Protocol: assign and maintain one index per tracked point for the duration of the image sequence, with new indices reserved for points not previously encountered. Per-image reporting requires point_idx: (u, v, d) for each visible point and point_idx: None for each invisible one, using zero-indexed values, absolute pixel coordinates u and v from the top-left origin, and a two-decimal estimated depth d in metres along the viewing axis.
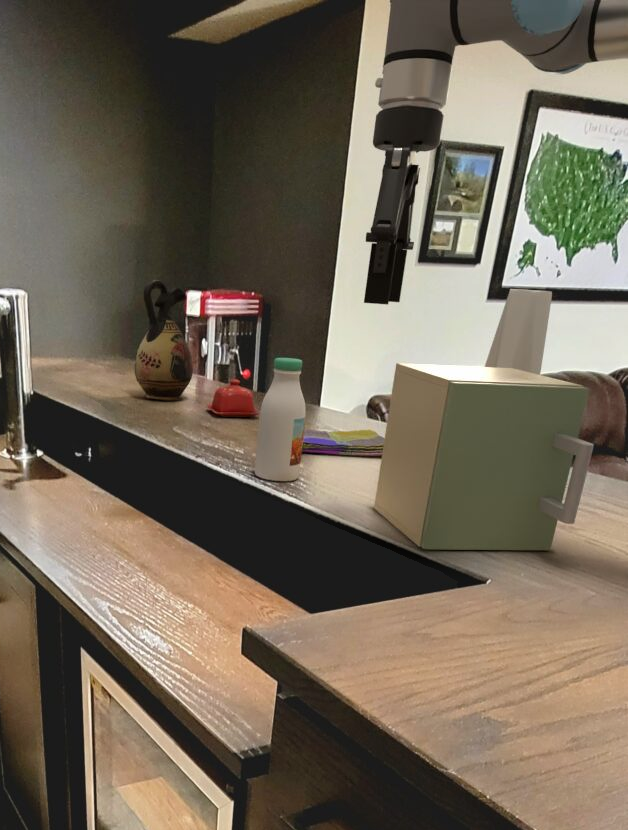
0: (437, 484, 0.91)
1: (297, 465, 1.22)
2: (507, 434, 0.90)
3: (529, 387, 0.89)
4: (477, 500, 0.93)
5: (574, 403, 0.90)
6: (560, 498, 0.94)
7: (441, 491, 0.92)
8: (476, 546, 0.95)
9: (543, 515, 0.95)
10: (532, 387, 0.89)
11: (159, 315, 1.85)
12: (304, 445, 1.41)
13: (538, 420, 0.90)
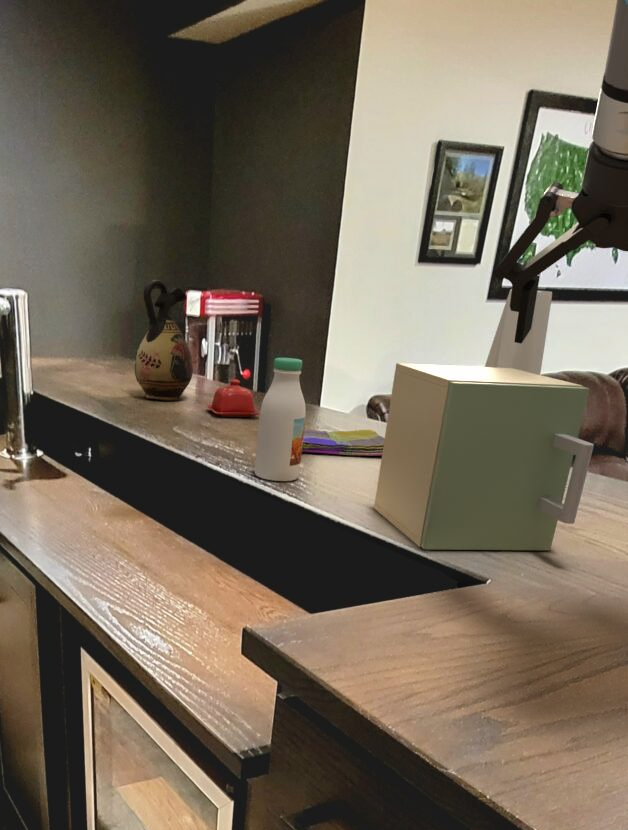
0: (437, 484, 0.91)
1: (297, 465, 1.22)
2: (507, 434, 0.90)
3: (529, 387, 0.89)
4: (477, 500, 0.93)
5: (574, 403, 0.90)
6: (560, 498, 0.94)
7: (441, 491, 0.92)
8: (476, 546, 0.95)
9: (543, 515, 0.95)
10: (532, 387, 0.89)
11: (159, 315, 1.85)
12: (304, 445, 1.41)
13: (538, 420, 0.90)
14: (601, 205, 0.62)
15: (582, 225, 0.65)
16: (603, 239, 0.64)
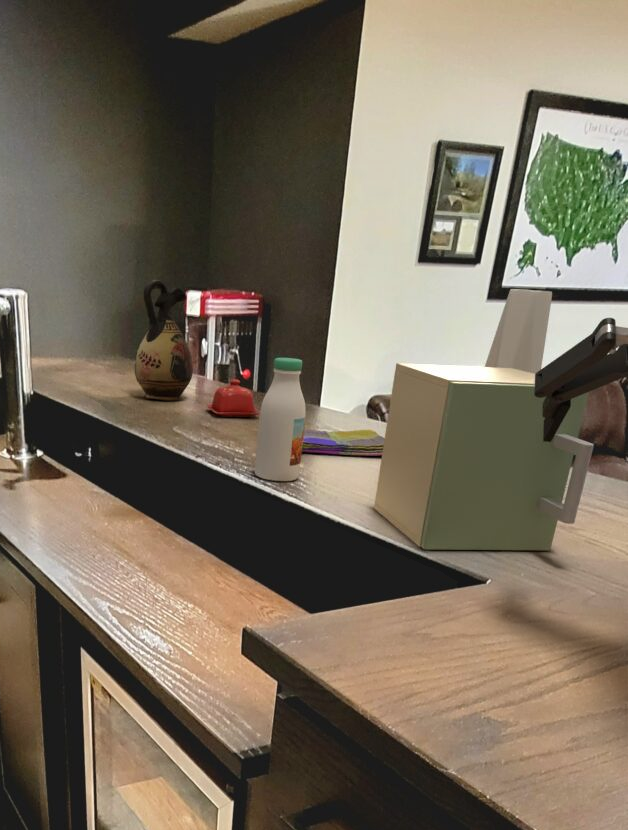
0: (437, 484, 0.91)
1: (297, 465, 1.22)
2: (507, 434, 0.90)
3: (529, 387, 0.89)
4: (477, 500, 0.93)
5: (574, 403, 0.90)
6: (560, 498, 0.94)
7: (441, 491, 0.92)
8: (476, 546, 0.95)
9: (543, 515, 0.95)
10: (532, 387, 0.89)
11: (159, 315, 1.85)
12: (304, 445, 1.41)
13: (538, 420, 0.90)
14: None
15: None
16: None
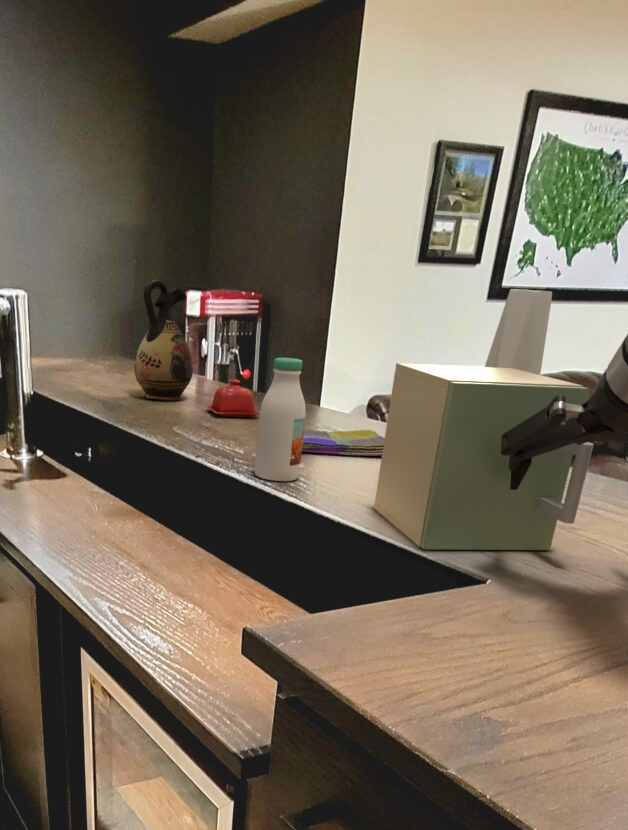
0: (437, 484, 0.91)
1: (297, 465, 1.22)
2: None
3: (529, 387, 0.89)
4: (477, 500, 0.93)
5: (574, 403, 0.90)
6: (560, 498, 0.94)
7: (441, 491, 0.92)
8: (476, 546, 0.95)
9: (543, 515, 0.95)
10: (532, 387, 0.89)
11: (159, 315, 1.85)
12: (304, 445, 1.41)
13: None
14: None
15: (586, 429, 0.78)
16: None
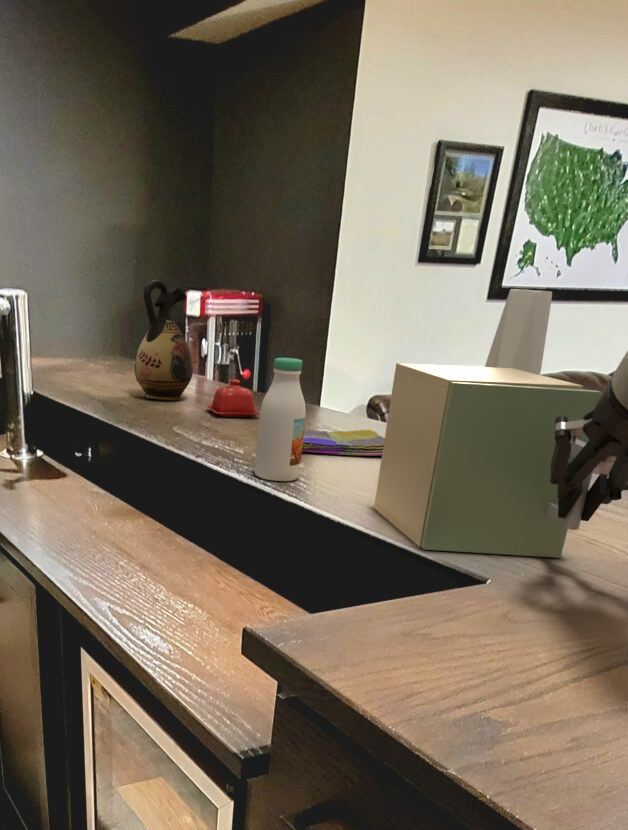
0: (436, 484, 0.91)
1: (297, 465, 1.22)
2: (511, 436, 0.89)
3: (534, 389, 0.87)
4: (479, 502, 0.92)
5: (585, 406, 0.88)
6: None
7: (441, 491, 0.92)
8: (479, 549, 0.94)
9: (552, 521, 0.93)
10: (538, 389, 0.87)
11: (159, 315, 1.85)
12: (304, 445, 1.41)
13: (545, 423, 0.88)
14: None
15: (598, 445, 0.74)
16: None
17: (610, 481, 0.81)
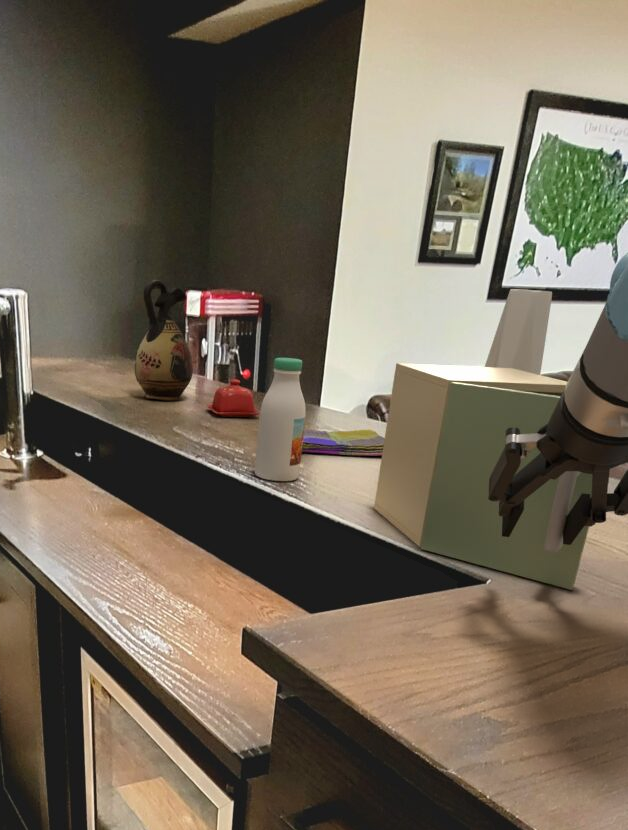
0: (434, 484, 0.91)
1: (297, 465, 1.22)
2: None
3: (538, 396, 0.82)
4: (478, 510, 0.89)
5: None
6: (583, 530, 0.82)
7: (438, 492, 0.91)
8: (478, 561, 0.90)
9: None
10: (541, 396, 0.81)
11: (159, 315, 1.85)
12: (304, 445, 1.41)
13: None
14: None
15: (552, 462, 0.66)
16: None
17: None
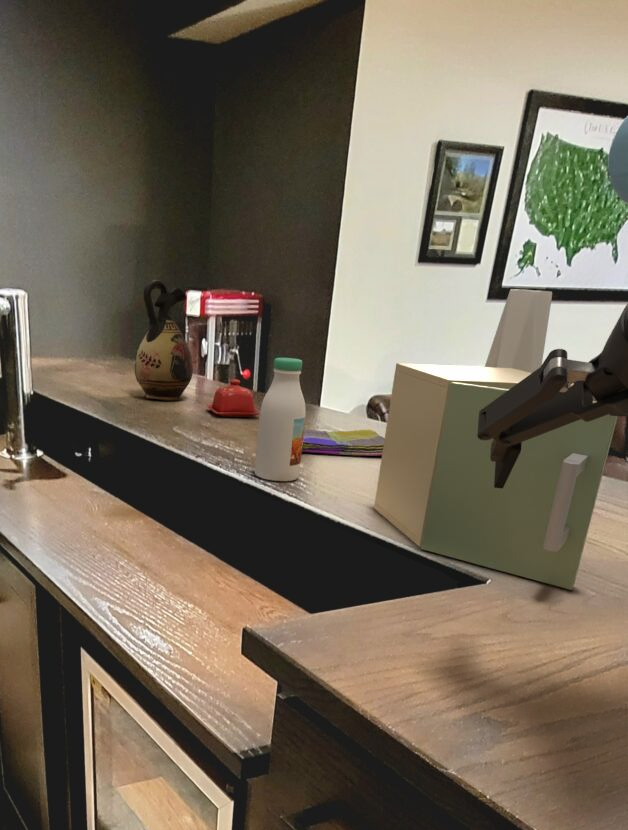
0: (433, 484, 0.91)
1: (297, 465, 1.22)
2: None
3: None
4: (478, 510, 0.89)
5: (598, 420, 0.79)
6: (583, 530, 0.82)
7: (438, 492, 0.91)
8: (478, 561, 0.90)
9: None
10: None
11: (159, 315, 1.85)
12: (304, 445, 1.41)
13: (550, 434, 0.82)
14: None
15: (598, 398, 0.53)
16: None
17: None
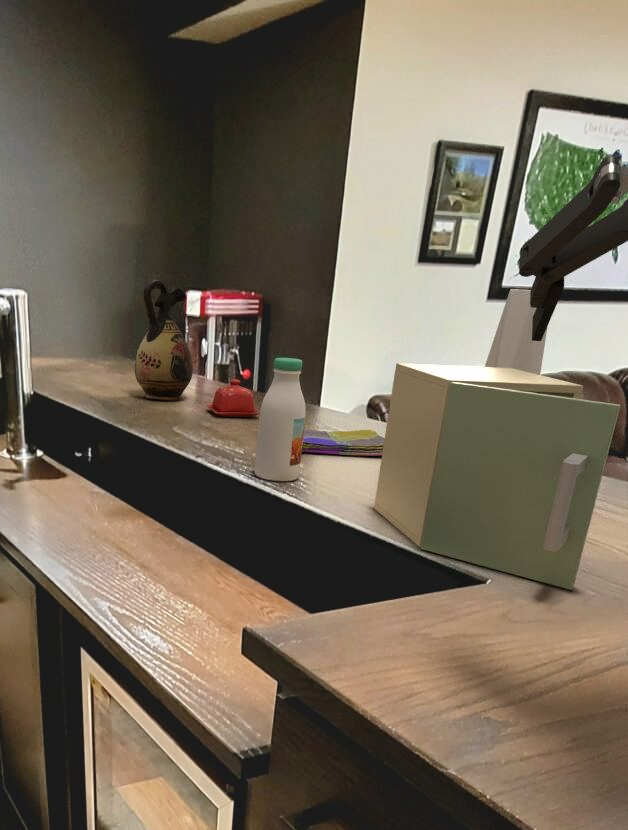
0: (433, 484, 0.91)
1: (297, 465, 1.22)
2: (512, 444, 0.84)
3: (538, 396, 0.82)
4: (478, 510, 0.89)
5: (598, 420, 0.79)
6: (583, 530, 0.82)
7: (438, 492, 0.91)
8: (478, 561, 0.90)
9: None
10: (541, 396, 0.81)
11: (159, 315, 1.85)
12: (304, 445, 1.41)
13: (550, 434, 0.82)
14: None
15: None
16: None
17: None
